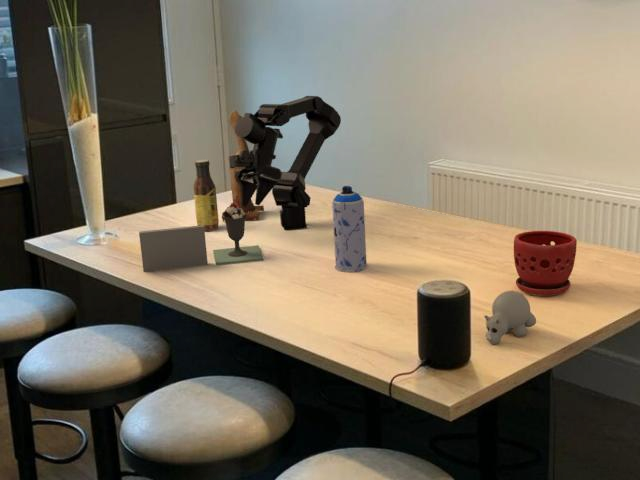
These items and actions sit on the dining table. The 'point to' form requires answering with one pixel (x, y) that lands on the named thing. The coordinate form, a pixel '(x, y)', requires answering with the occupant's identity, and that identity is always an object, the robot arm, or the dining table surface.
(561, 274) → the plant pot
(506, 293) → the chubby cartoon animal
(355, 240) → the aerosol can
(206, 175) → the sauce bottle
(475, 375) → the dining table surface
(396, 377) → the dining table surface
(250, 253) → the rubber mat
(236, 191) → the bird sculpture
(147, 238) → the partition board
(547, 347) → the dining table surface
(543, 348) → the dining table surface
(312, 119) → the robot arm
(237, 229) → the sundae
